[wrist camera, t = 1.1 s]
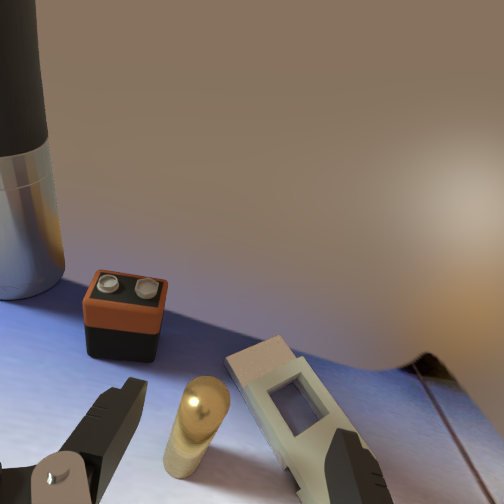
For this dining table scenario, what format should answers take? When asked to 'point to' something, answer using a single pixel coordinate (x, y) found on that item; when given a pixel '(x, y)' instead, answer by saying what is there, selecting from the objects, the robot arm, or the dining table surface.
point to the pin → (195, 424)
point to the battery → (123, 315)
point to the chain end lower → (258, 364)
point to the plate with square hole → (309, 441)
